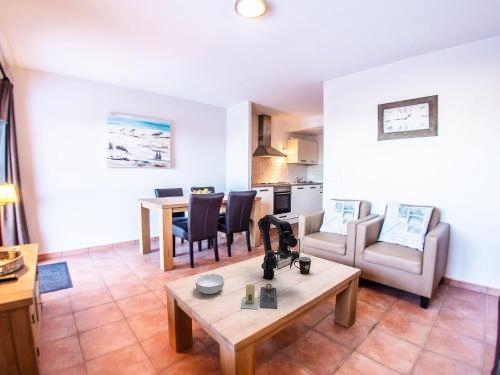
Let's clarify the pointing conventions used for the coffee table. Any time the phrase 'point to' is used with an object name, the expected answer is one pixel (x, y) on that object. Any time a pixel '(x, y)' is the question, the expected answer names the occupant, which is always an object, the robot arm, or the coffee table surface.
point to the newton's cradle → (284, 259)
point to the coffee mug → (304, 265)
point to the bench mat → (249, 306)
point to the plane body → (268, 297)
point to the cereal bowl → (210, 283)
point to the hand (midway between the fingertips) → (282, 267)
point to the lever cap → (250, 293)
